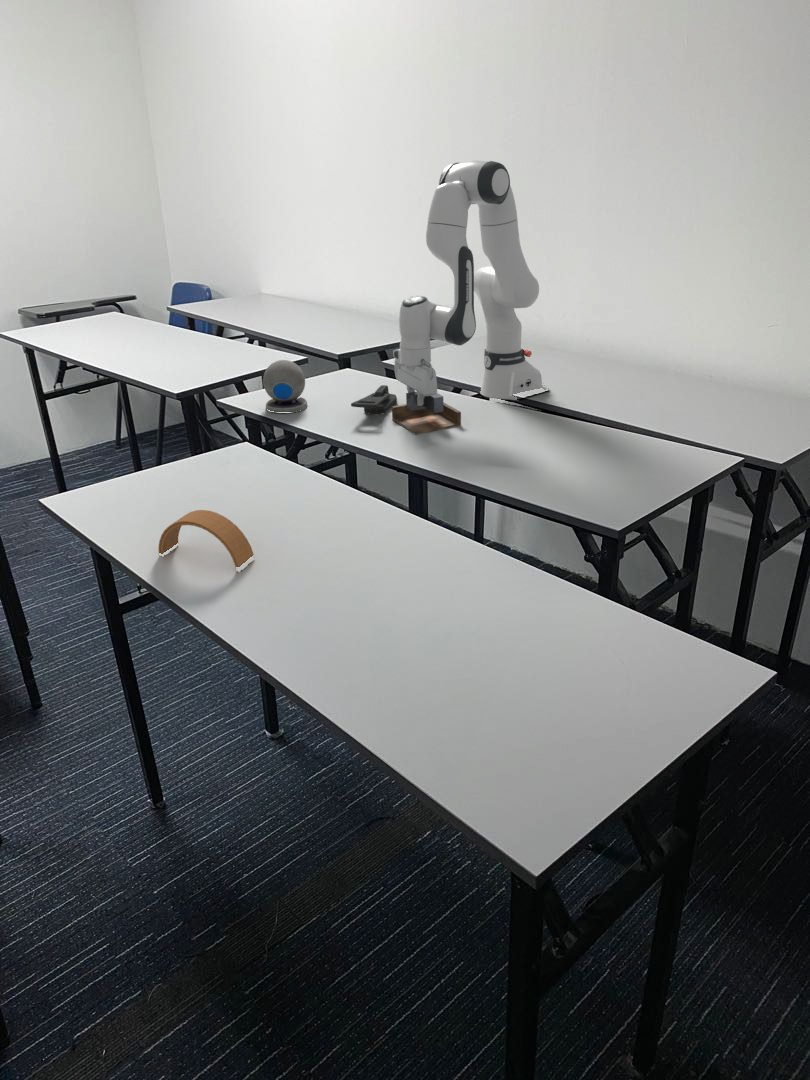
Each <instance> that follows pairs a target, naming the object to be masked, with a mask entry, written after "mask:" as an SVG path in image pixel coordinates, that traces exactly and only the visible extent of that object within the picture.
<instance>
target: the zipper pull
mask: <svg viewBox="0 0 810 1080" xmlns="http://www.w3.org/2000/svg"><path fill="white" fill-rule="evenodd" d="M389 392H390V391H389V386H388V385H387V384H386V385H380V386H379V387H378V388H377V389H376V390H375V392H372V393H371V394H369V395H367V396H365V397H362V398H360V399H358V400H355V401H353V402H352V403H351V404H350V405H351V406H350V407H354V408H363V411H364V412H365V413H364V412H363V413H364V414H367V413H369V415H373V414H378V415H384V414H387V412H389V411H390V410H392V406H397V404H398V397H397V395H396V394H393V393H389Z"/></svg>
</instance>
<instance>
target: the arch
mask: <svg viewBox="0 0 810 1080" xmlns="http://www.w3.org/2000/svg"><path fill="white" fill-rule="evenodd" d="M182 526H192V527H197V528H199V529H202V530H203V531H207V532H208V533H210V534H211V535H212V536H214V537H215V538H216V539H217V540H218V541H219V542H220V543H221V544H222V545H223V546H224V547H225V549H226V550H227V551H228V552H229V554H230V556H231V558H232V561H233V563H234V564H233V565H234V567H235V568H236V567H240V566H241V565H242V564H243V563H245V562H246V561H247V560H248V559H249V558H250V557H252V556H253V555H254V554H255V553H254V551H253V548H252V546H251V544H250V543H249V540H248V538H247V537H246V535H245V534H244V532H243V531H242V530H241V529H240V528H239V527H238V526H237V525H236V524H235V523H234V522H232V521H231V520H230V519H229V518H227V517H226V516H224V515H222V514H220V513H218V512H215V511H212V510H207V509H206V510H205V509H197V510H193V511H192V510H191V511H189V512H188V513H186V514H184V515H183V516H182V517H179V519H178V520H176V521H174V522H172V523H171V524H170V525H169V526H167V527H166V529H164V530H163V532H162V534H161V535H160V538H159V542H158V554H159V553H161V554H163V553H164V552H166V551H167V550H169V549H170V548H172V547H173V546H174V545H176V544H177V543H178V544H179V535H180V531H181V528H182ZM254 556H255V555H254Z"/></svg>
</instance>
